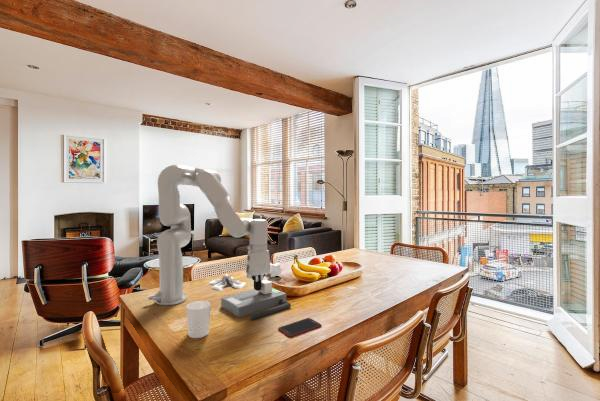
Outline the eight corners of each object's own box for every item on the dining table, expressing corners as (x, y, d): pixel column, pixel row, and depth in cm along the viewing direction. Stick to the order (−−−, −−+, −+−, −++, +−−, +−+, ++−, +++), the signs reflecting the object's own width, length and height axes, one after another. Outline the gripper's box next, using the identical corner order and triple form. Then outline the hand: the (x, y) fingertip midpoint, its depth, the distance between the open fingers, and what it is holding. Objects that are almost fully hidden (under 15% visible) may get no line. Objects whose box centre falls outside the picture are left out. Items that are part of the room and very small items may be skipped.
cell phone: (277, 330, 106) (277, 327, 106) (309, 319, 115) (309, 317, 115) (289, 339, 100) (289, 336, 100) (322, 327, 109) (322, 324, 109)
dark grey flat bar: (251, 321, 113) (251, 316, 113) (242, 315, 117) (242, 310, 117) (291, 307, 126) (291, 302, 126) (282, 303, 131) (282, 298, 131)
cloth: (250, 288, 151) (250, 276, 151) (213, 294, 142) (213, 281, 142) (238, 276, 171) (238, 266, 171) (204, 281, 162) (204, 270, 162)
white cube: (264, 294, 129) (264, 284, 129) (258, 291, 133) (258, 281, 133) (272, 292, 132) (272, 282, 132) (265, 289, 136) (265, 279, 136)
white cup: (190, 328, 106) (190, 300, 106) (212, 328, 107) (212, 300, 107) (183, 339, 98) (183, 309, 98) (207, 339, 99) (207, 309, 99)
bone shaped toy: (258, 273, 178) (257, 260, 178) (271, 270, 183) (270, 257, 182) (270, 280, 166) (269, 265, 165) (284, 276, 171) (282, 262, 170)
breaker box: (238, 317, 116) (238, 307, 115) (221, 306, 126) (221, 297, 126) (286, 302, 132) (286, 293, 132) (267, 293, 142) (267, 285, 142)
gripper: (248, 251, 121) (247, 295, 122) (277, 247, 131) (276, 288, 132) (238, 248, 127) (237, 290, 127) (267, 244, 137) (266, 284, 137)
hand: (257, 289), depth 130 cm, fingers closed
